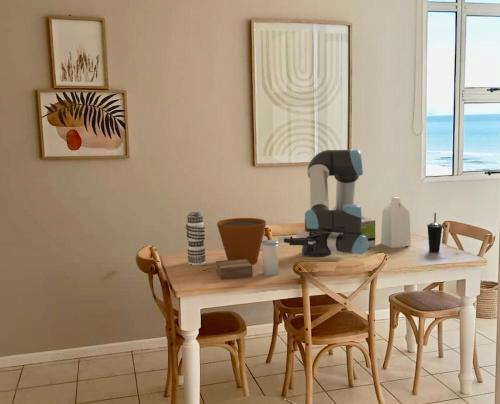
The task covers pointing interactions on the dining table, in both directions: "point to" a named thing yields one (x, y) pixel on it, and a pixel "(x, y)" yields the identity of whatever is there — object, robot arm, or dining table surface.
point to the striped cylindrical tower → (195, 238)
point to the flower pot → (242, 238)
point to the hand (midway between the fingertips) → (288, 236)
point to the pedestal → (234, 269)
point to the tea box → (369, 230)
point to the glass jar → (270, 257)
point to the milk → (395, 225)
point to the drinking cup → (434, 236)
